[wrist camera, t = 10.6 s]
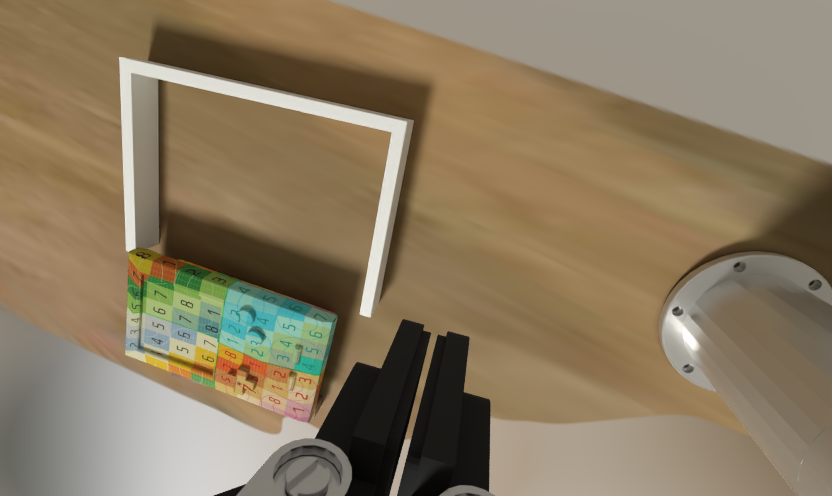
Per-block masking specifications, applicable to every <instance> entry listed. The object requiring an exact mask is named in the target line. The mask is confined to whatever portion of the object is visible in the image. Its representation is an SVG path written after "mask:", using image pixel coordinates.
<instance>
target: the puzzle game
mask: <svg viewBox="0 0 832 496" xmlns="http://www.w3.org/2000/svg"><path fill="white" fill-rule="evenodd" d="M337 319H338V316H337V315H336V314H335V313H334V312H331V311H329V310H326V309H323V308H320V307H317V306H314V305H311V304H308V303H306V302H303V301H300V300H297V299H294V298H291V297H288V296H285V295H283V294H280V293H277V292H274V291H271V290H268V289H265V288H262V287H260V286H257V285H254V284H251V283H248V282H245V281H242V280H239V279H237V278H234V277H231V276H228V275H225V274H222V273H219V272H216V271H214V270H211V269H208V268H205V267H202V266H199V265H196V264H193V263H191V262H188V261H185V260H176V259H173V258H170V257H167V256H164V255H161V254H159V253H156V252H153V251H151V250H148V249H143V248H136V249H133V250H131V251H129V269H128V295H127V320H126V346H125V355H128V356H130V357H133V358H135V359H138V360H141V361H143V362H146V363H149V364H151V365H154V366H156V367H159V368H162V369H164V370H167V371H170V372H172V373H175V374H177V375H180V376H183V377H185V378H188V379H191V380H193V381H196V382H198V383H201V384H204V385H206V386H209V387H212V388H214V389H217V390H219V391H222V392H225V393H227V394H230V395H233V396H235V397H238V398H240V399H243V400H246V401H248V402H251V403H254V404H256V405H259V406H261V407H264V408H267V409H269V410H272V411H275V412H277V413H280V414H282V415H285V416H288V417H290V418H293V419H296V420H298V421H302V422H310V420H311V418H312V416H313V415H314V412H315V408H316V404H317V400H318V395H319V391H320V387H321V383H322V379H323V375H324V371H325V367H326V363H327V359H328V355H329V351H330V347H331V343H332V339H333V335H334V331H335V327H336V323H337Z"/></svg>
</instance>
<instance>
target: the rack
mask: <svg viewBox="0 0 832 496" xmlns="http://www.w3.org/2000/svg"><path fill="white" fill-rule="evenodd" d="M119 61H120V90H121V118H122V147H123V175H124V204H125V232H126V251H128V252H129V251H131V250H133V249H136V248H143V249H148V248H150V247H153V246H155V245H157V244H159V142H158V79H161V80H165V81H169V82H174V83H178V84H183V85H187V86H191V87H196V88H200V89H204V90H209V91H213V92H218V93H222V94H226V95H231V96H235V97H240V98H244V99H248V100H253V101H257V102H261V103H266V104H270V105H275V106H279V107H283V108H288V109H292V110H296V111H301V112H305V113H310V114H314V115H318V116H323V117H327V118H331V119H336V120H340V121H345V122H349V123H353V124H358V125H362V126H367V127H371V128H375V129H380V130H384V131H388V132H392V135H391V141H390V146H389V152H388V157H387V163H386V169H385V174H384V180H383V186H382V191H381V197H380V202H379V208H378V214H377V219H376V225H375V231H374V236H373V242H372V247H371V253H370V259H369V264H368V270H367V276H366V281H365V287H364V292H363V298H362V304H361V309H360V315H363V316H367V317H371V315H372V314H373V312H374V310H375V309H376V307H377V305H378V304H379V300H380V295H381V289H382V284H383V279H384V274H385V269H386V264H387V258H388V253H389V248H390V243H391V238H392V233H393V227H394V222H395V217H396V212H397V207H398V202H399V196H400V191H401V186H402V181H403V176H404V171H405V165H406V160H407V155H408V150H409V145H410V140H411V134H412V129H413V124H414V120H410V119H406V118H402V117H397V116H393V115H388V114H384V113H379V112H375V111H370V110H366V109H361V108H357V107H353V106H348V105H344V104H339V103H335V102H330V101H326V100H321V99H317V98H312V97H308V96H304V95H299V94H295V93H290V92H286V91H281V90H277V89H272V88H268V87H263V86H259V85H255V84H250V83H246V82H241V81H237V80H232V79H228V78H223V77H219V76H214V75H210V74H205V73H201V72H197V71H192V70H188V69H183V68H179V67H174V66H170V65H165V64H161V63H156V62H152V61H148V60H140V59H132V58H124V57H119Z"/></svg>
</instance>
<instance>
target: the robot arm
mask: <svg viewBox="0 0 832 496" xmlns="http://www.w3.org/2000/svg"><path fill="white" fill-rule="evenodd" d="M735 263H737V264H736V265H735ZM675 307H676V308H675ZM674 308H675V309H674ZM423 328H424V325H423V324H419V323H416V322H412V321H408V320H405V319H403V320H402V322H401V324H400V327H399V329H398V331H397V333H396V336H395V338H394V340H393V343H392V345H391V347H390V350H389V352H388V354H387V357H386V359H385V361H384V364H383V366H382V368H381V369H380V368H377V367H373V366H370V365H366V364H363V363H359V362H357V363H356V364H355V366H354V367H353V369H352V371H351V373H350V375H349V376H348V378H347V380H346V382H345V384H344V386H343V387H342V389H341V391H340V393H339V395H338V397H337V399H336V400H335V402H334V404H333V406H332V408H331V410H330V412H329V413H328V415H327V417H326V419H325V421H324V423H323V425H322V426H321V428H320V430H319V432H318V434H317V436H316V438H315V439H301V440H296V441H292V442H290V443H288V444H286V445H284V446H282V447H280V448H279V449H278V450H277V451H276V452H275V453H273V454H272V455H271V457H270V458H269V459H268V460H267V461H266V462H265V464H263V466H262V467H261V468H260V469H259V470H258V471H257V472H256V474H255V475H254V476H253V477H252V478H251V479H250V480H249V482H248V483H247V484H245V485H242V486H240V487H237V488H234V489H231V490H228V491H225V492H223V493H220V494H217V495H214V496H389V494H390V490H391V486H392V483H393V479H394V476H395V472H396V468H397V465H398V461H399V457H400V453H401V450H402V446H403V443H404V439H405V435H406V432H407V428H408V424H409V420H410V416H411V412H412V408H413V404H414V400H415V396H416V392H417V388H418V384H419V380H420V376H421V372H422V368H423V363H424V359H425V355H426V351H427V347H428V343H429V339H430V335H431V333H430V332H426V331H423ZM658 333H659V338H660V343H661V346H662V348H663V350H664V353H665V355H666V357H667V358H668V359H669V361H670V362H671V364H672V365H673V367H674V368H675V369H676V370H677V371H678V372H679V373H680V374H681V375H682V376H683V377H685V378H686V379H687V380H689V381H690V382H692V383H693V384H695V385H698V386H700V387H702V388H704V389H706V390H710V391H714V392H718V394H719V395H720V396H721V398H722V399H723V400H724V401H725V403H726V404H727V405H728V407H729V408H730V409H731V411H732V412H733V413H734V414H735V416H736V417H737V418H738V420H739V421H740V422H741V424H742V425H743V426H744V427H745V429H746V430H747V431H748V433H749V434H750V435H751V437H752V438H753V439H754V440H755V442H756V443H757V444H758V446H759V447H760V448H761V449H762V451H763V452H764V453H765V455H766V456H767V457H768V458H769V460H770V461H771V463H772V464H773V465H774V466H775V468H776V469H777V470H778V472H779V473H780V474H781V475H782V477H783V478H784V479H785V481H786V482H787V483H788V484H789V486H790V487H791V488H792V490H793V491H794V492H795V494H796V495H797V496H832V287H831V286H830V284H829V283H828V281H827V280H826V279H825V278H824V277H823V276H822V275H820V274H819V273H818V272H817V271H816V270H814V269H813V268H811V267H809V266H807V265H806V264H804V263H802V262H800V261H798V260H796V259H793V258H791V257H789V256H785V255H781V254H777V253H773V252H760V251H750V252H740V253H734V254H730V255H726V256H722V257H719V258H717V259H714V260H712V261H710V262H707V263H705V264H703V265H702V266H700V267H698V268H697V269H695V270H694V271H692V272H690V273H689V274H688V275H687V276H686V277H685V278H683V279H682V280H681V281H680V282H679V283H678V284H677V285H676V287H675V288H674V289H673V290H672V292H671V293H670V294H669V296H668V298H667V300H666V301H665V303H664V305H663V307H662V311H661V315H660V318H659V332H658ZM468 347H469V337H467V336H464V335H460V334H456V333H453V332H449V331H448V332H447V336H446V337H445V336H441V335H438V336H437V340H436V344H435V348H434V352H433V356H432V360H431V364H430V368H429V372H428V376H427V380H426V383H425V387H424V391H423V395H422V399H421V403H420V407H419V411H418V415H417V419H416V423H415V427H414V431H413V435H412V439H411V443H410V447H409V451H408V455H407V459H406V462H405V467H404V471H403V474H402V479H401V482H400V486H399V490H398V494H397V496H495V495H493V494H491V493H489V459H490V457H489V456H490V455H489V454H490V400H489V399H486V398H482V397H479V396H475V395H472V394H468V393H465V392H464V383H465V374H466V365H467V356H468Z"/></svg>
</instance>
